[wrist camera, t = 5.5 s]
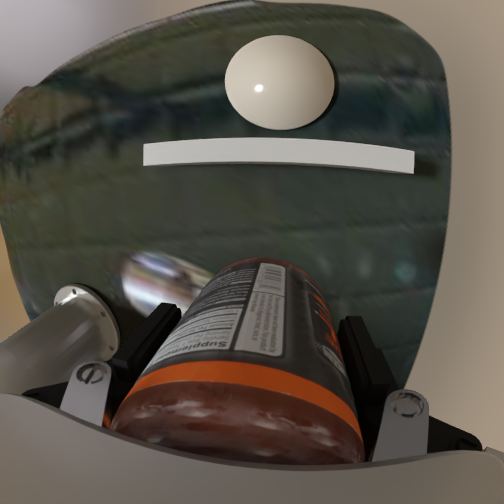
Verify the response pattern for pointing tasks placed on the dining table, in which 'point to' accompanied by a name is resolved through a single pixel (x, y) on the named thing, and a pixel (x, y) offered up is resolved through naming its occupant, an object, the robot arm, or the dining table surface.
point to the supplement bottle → (250, 375)
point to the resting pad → (279, 82)
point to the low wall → (280, 153)
